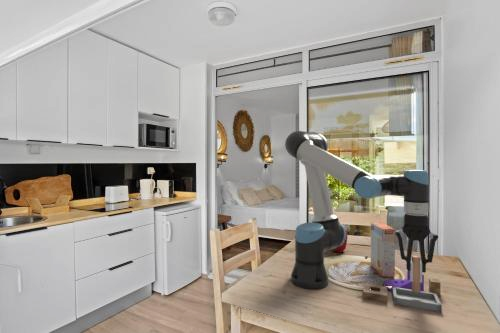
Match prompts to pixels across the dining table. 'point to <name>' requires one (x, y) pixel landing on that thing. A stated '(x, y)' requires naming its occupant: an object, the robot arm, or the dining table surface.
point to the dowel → (416, 274)
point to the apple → (342, 247)
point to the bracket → (404, 283)
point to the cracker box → (383, 249)
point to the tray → (416, 299)
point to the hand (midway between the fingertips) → (415, 280)
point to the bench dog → (434, 286)
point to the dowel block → (375, 292)
